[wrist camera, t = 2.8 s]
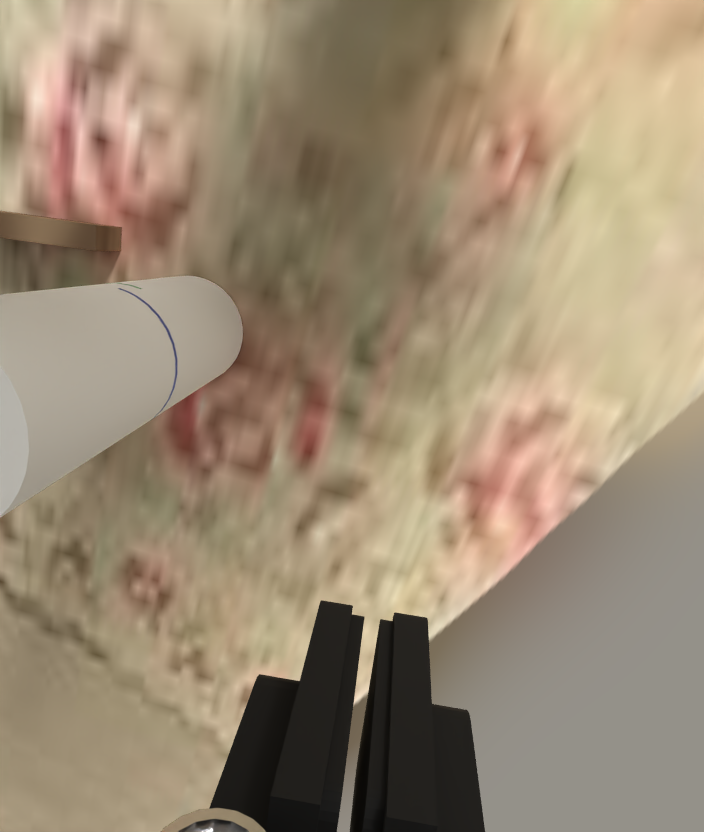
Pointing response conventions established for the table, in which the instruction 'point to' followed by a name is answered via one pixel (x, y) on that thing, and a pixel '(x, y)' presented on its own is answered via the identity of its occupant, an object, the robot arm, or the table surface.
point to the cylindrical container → (101, 368)
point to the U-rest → (59, 232)
